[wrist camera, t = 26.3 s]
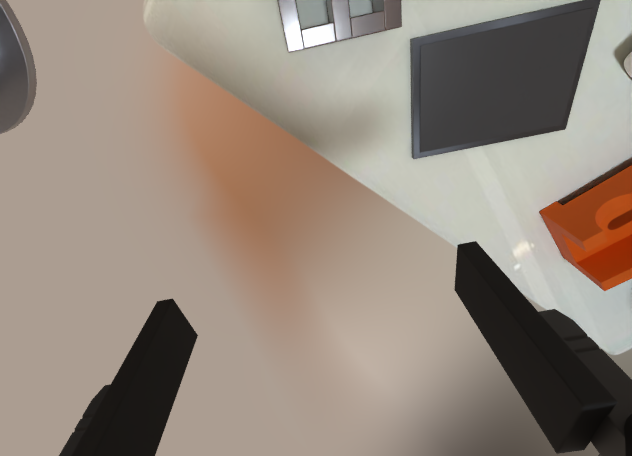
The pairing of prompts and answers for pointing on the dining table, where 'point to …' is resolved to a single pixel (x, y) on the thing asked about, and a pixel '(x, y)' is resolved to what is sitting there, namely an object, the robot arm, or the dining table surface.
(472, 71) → the tablet
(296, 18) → the pen stand
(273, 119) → the dining table surface
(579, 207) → the orange slotted block
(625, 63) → the mug
